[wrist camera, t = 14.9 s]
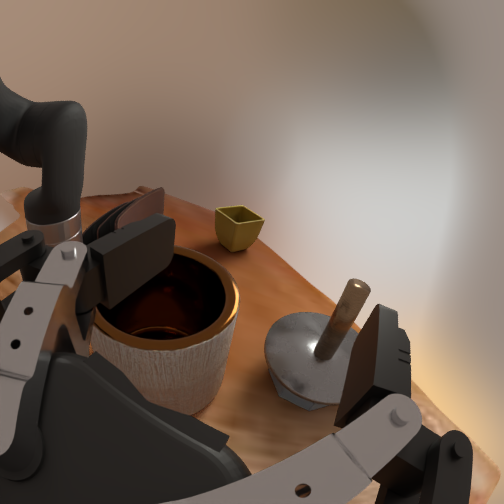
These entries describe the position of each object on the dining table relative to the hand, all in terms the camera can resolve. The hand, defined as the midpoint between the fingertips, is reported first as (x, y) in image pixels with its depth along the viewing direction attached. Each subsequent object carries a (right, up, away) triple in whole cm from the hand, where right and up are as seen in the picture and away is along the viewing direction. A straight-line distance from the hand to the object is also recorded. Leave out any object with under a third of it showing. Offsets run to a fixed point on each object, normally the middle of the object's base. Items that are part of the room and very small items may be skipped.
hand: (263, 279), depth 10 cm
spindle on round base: (+10, -14, +28) cm, 32 cm away
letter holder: (-29, +1, +49) cm, 57 cm away
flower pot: (-5, +2, +61) cm, 61 cm away
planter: (-13, -16, +26) cm, 34 cm away
